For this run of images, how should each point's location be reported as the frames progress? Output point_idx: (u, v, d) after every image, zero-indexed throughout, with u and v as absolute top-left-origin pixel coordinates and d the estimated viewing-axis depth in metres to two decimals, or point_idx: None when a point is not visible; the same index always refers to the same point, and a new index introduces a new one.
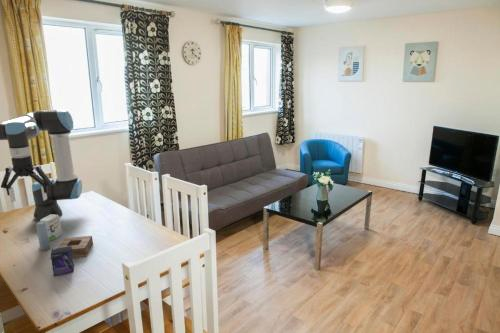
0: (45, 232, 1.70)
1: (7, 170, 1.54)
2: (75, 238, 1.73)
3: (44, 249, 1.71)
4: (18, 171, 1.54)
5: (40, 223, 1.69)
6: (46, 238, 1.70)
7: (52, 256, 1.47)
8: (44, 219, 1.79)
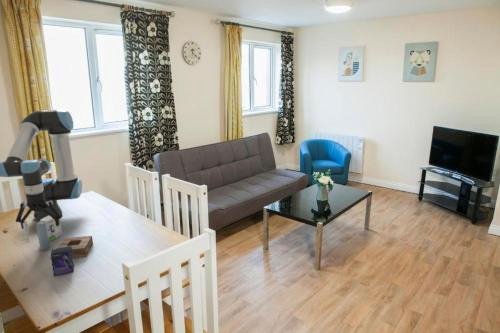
0: (45, 232, 1.70)
1: (22, 205, 1.64)
2: (75, 238, 1.73)
3: (44, 249, 1.71)
4: (32, 206, 1.64)
5: (40, 223, 1.69)
6: (46, 238, 1.70)
7: (52, 256, 1.47)
8: (44, 219, 1.79)
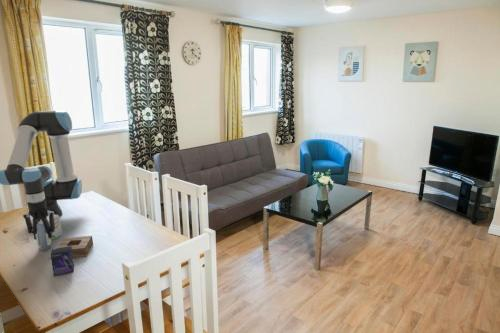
0: (45, 232, 1.70)
1: (25, 216, 1.65)
2: (75, 238, 1.73)
3: (44, 249, 1.71)
4: (34, 214, 1.65)
5: (40, 223, 1.69)
6: None
7: (52, 256, 1.47)
8: None
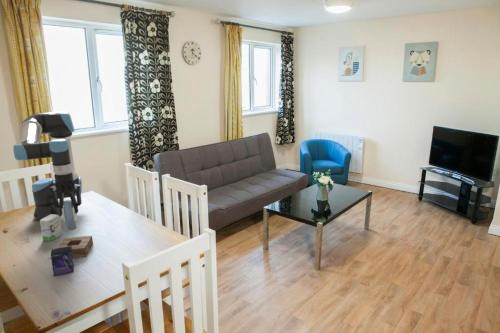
0: None
1: (51, 189, 1.59)
2: (75, 238, 1.73)
3: (71, 228, 1.64)
4: (60, 187, 1.58)
5: (67, 201, 1.62)
6: (73, 217, 1.64)
7: (52, 256, 1.47)
8: (44, 219, 1.79)
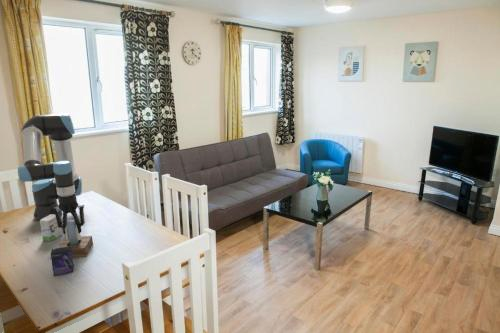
0: (75, 230, 1.66)
1: (55, 210, 1.61)
2: None
3: None
4: (64, 208, 1.61)
5: (70, 221, 1.65)
6: (76, 237, 1.67)
7: (52, 256, 1.47)
8: (44, 219, 1.79)
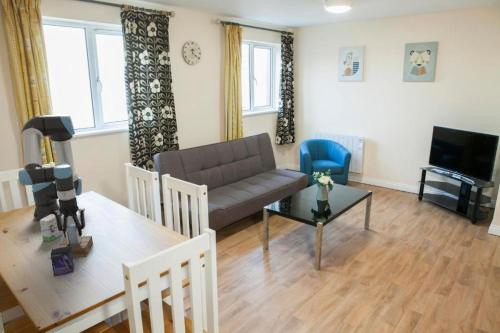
0: (76, 235, 1.67)
1: (55, 214, 1.62)
2: None
3: None
4: (65, 212, 1.62)
5: (71, 225, 1.66)
6: (77, 241, 1.67)
7: (52, 256, 1.47)
8: (44, 219, 1.79)
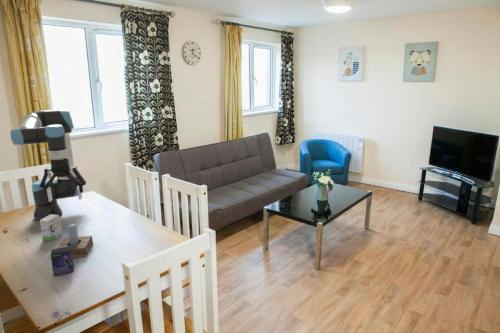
0: (76, 235, 1.67)
1: (46, 171, 1.62)
2: None
3: None
4: (56, 172, 1.62)
5: (71, 225, 1.66)
6: (77, 241, 1.67)
7: (52, 256, 1.47)
8: (44, 219, 1.79)
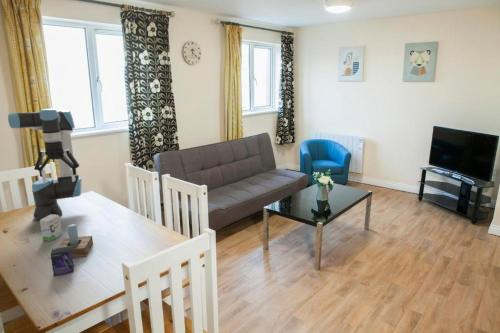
0: (76, 235, 1.67)
1: (40, 153, 1.69)
2: None
3: None
4: (50, 154, 1.69)
5: (71, 225, 1.66)
6: (77, 241, 1.67)
7: (52, 256, 1.47)
8: (44, 219, 1.79)
